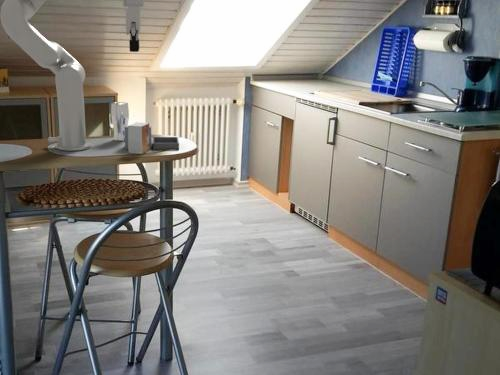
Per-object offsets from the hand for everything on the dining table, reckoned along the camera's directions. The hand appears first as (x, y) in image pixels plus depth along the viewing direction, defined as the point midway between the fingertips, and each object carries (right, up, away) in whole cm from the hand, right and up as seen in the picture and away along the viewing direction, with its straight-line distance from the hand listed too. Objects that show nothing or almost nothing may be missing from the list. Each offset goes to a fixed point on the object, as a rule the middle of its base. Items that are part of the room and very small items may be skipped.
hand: (134, 50), depth 224 cm
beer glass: (-10, -31, +23) cm, 40 cm away
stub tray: (+10, -35, +14) cm, 38 cm away
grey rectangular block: (0, -35, +10) cm, 37 cm away
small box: (+1, -38, +3) cm, 38 cm away
